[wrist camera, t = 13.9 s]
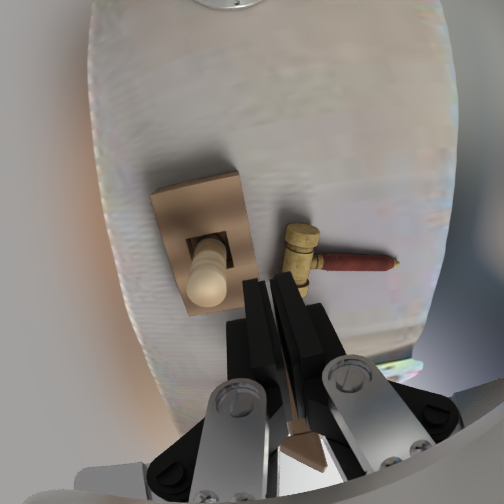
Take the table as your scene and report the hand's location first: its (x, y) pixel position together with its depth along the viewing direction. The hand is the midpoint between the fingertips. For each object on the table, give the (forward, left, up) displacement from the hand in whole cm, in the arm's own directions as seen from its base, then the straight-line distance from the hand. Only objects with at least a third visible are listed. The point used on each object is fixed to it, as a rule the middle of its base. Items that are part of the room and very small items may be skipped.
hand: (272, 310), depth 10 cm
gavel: (+15, +14, -30) cm, 36 cm away
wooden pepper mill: (+8, -5, -28) cm, 29 cm away
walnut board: (+8, -5, -29) cm, 30 cm away
